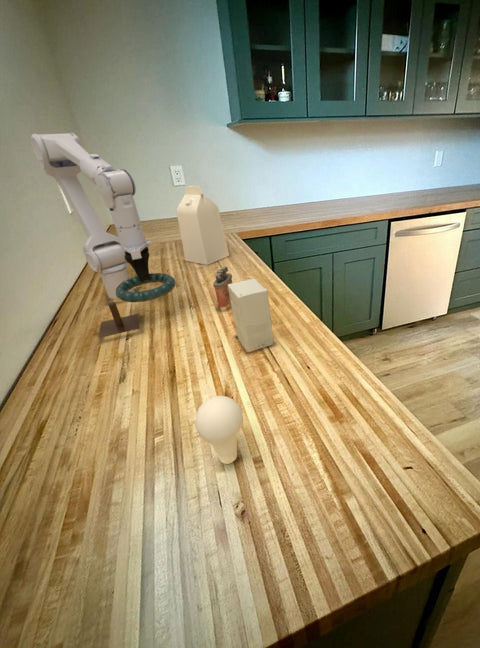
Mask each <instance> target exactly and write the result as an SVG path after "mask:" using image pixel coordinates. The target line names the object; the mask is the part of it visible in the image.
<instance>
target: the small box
mask: <svg viewBox="0 0 480 648" xmlns="http://www.w3.org/2000/svg"><path fill="white" fill-rule="evenodd" d="M228 290H229V296H230V301H231V302H230V306H231V313H232V318H233V324H234V330H235V334H236V338H237V339H238V341H239V342H240V344H241V346H242V347H243V349H244V350H245V352H246V353H251V352H254V351H257V350H260V349H264V348H267V347H270V346H273V345H274V344H275V341H274V334H273V326H272V318H271V317H272V316H271V310H270V309H271V308H270V301H269V299H270V298H269V292H268V291H269V290H268V289H267V288H265V287H264V286H263V285H262V284H261V283H260V282H259V281H258V280H257V279H256V278H250V279H246V280H241V281H236V282H232V283H231V284H228Z"/></svg>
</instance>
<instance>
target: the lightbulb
mask: <svg viewBox="0 0 480 648" xmlns="http://www.w3.org/2000/svg"><path fill="white" fill-rule="evenodd" d="M243 422H244V414H243V410H242V408H241V406H240V404H239V403H238V402H237V401H235V399H233V398H231V397H229V396H226V395H214V396H212V397H209V398H208V399H206V400H204V401H203V403H201V405H199V407H198V409H197V410H196V413H195V417H194V426H195V427H194V428H195V430H196V433H197V434H198V435H199V437H200V438H201V439H202V440H203V441H205V442H206V443H208V444H210V445H211V446H212V448H213V450H214V453H216V455H217V456H218V458H219V461H220V463H222V464H223V465H224V464H225V465H228V464H231V463H233V462H235V460H236V459H237V457H238V449H237V447H238V435H240V434H239V433H240V431H241V429H242V427H243V424H244V423H243Z"/></svg>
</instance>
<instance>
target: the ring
mask: <svg viewBox="0 0 480 648" xmlns="http://www.w3.org/2000/svg"><path fill="white" fill-rule="evenodd" d="M153 283H161V285H159V286H157V287H153V288H151V289H146V290H142V291H141V290H140V291H134V292H129V290H130V289H132V288H134V287H136V288H137V287H139V286H142V285H146V284H153ZM176 286H177V285H176V280H175V277H173V276H172V275H170V274H167V273H162V272H154V273H149V280H146V281H140V279H139V278H138V276H137V275H135V276H133V277H130V279H128V280H126V281H124V282H122V283H121V284H120V285H119V286H118V287H117V288H116V296H117V297H118V298H119V299H118V300H121V301H123V302H127V303H143V302H149V301H153V300H156V299H159V298H161V297H164V296H166V295H168V294H169V293H171V292H172V291H173V290H174V288H175V287H176Z"/></svg>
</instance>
